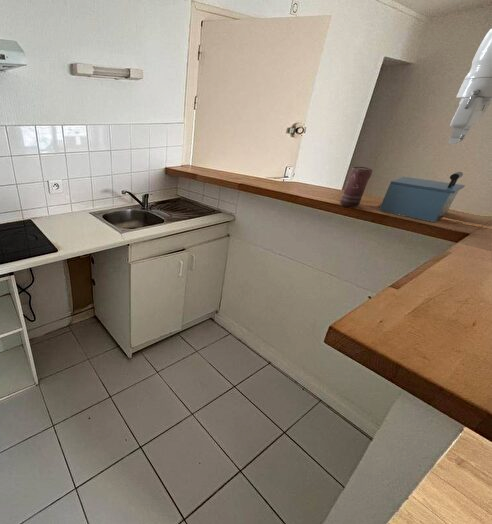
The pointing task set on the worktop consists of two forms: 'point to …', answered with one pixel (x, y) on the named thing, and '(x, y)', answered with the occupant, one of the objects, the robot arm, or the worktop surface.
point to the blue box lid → (432, 183)
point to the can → (355, 186)
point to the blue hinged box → (417, 202)
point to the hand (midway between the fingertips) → (455, 142)
